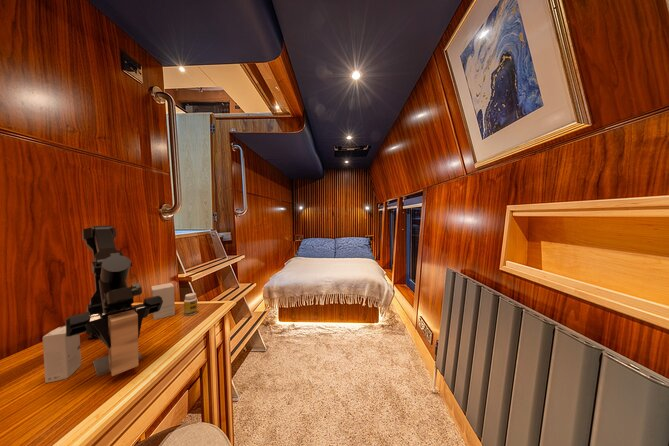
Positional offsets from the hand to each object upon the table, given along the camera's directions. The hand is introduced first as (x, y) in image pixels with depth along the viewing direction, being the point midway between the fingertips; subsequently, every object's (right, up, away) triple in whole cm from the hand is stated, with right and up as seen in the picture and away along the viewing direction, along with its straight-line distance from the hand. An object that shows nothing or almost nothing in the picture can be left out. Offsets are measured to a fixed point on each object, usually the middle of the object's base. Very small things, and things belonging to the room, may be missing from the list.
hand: (124, 342), depth 57 cm
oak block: (-1, -7, +1) cm, 7 cm away
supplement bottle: (-7, -8, +38) cm, 39 cm away
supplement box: (-19, -8, +37) cm, 42 cm away
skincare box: (-18, -10, +2) cm, 20 cm away
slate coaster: (-8, -9, +7) cm, 14 cm away
